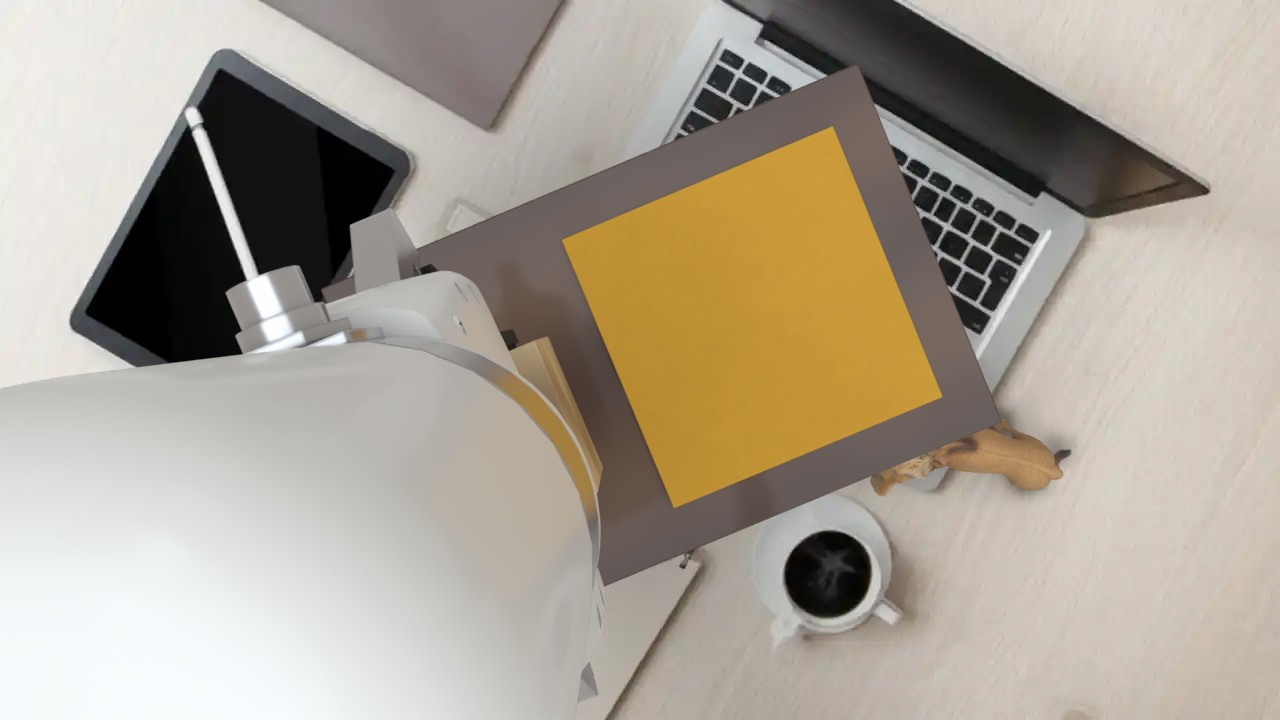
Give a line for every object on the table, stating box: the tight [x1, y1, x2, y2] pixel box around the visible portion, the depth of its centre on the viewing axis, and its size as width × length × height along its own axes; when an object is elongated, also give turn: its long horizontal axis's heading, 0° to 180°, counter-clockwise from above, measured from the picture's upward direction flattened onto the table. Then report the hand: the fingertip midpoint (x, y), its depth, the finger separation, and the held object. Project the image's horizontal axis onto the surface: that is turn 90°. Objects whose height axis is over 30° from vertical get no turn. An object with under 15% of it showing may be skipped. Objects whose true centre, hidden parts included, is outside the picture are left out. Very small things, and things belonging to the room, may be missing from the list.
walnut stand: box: [320, 63, 1002, 588], centre depth 58 cm, size 16×24×26 cm, turn 113°
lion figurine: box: [869, 417, 1072, 497], centre depth 67 cm, size 15×5×9 cm, turn 87°
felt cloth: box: [562, 126, 942, 508], centre depth 45 cm, size 12×12×1 cm
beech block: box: [509, 337, 603, 493], centre depth 36 cm, size 5×5×5 cm
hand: (506, 432), depth 38 cm, fingers closed on beech block, 5 cm apart
